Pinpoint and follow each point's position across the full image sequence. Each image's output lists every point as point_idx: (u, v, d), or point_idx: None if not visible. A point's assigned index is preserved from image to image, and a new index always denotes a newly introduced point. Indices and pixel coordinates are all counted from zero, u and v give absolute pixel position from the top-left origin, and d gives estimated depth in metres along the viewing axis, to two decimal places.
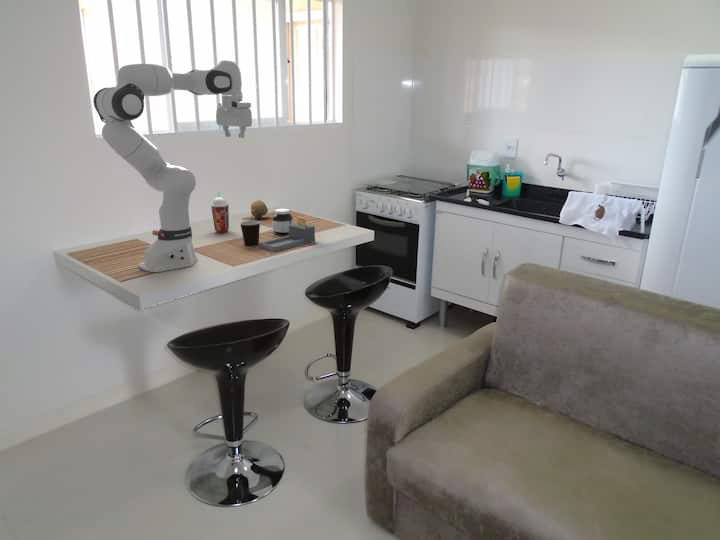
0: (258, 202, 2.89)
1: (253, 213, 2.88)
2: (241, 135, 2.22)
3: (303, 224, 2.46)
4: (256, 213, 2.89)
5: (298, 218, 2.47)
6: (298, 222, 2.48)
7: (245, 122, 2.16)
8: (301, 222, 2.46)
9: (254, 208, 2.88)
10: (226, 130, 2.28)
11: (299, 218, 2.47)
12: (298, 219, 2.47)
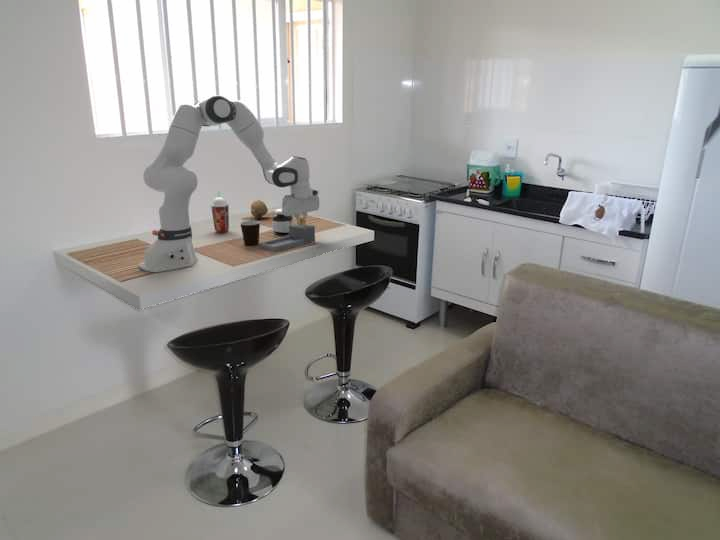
0: (258, 202, 2.89)
1: (253, 213, 2.88)
2: None
3: (303, 224, 2.46)
4: (256, 213, 2.89)
5: None
6: None
7: None
8: None
9: (254, 208, 2.88)
10: None
11: None
12: None
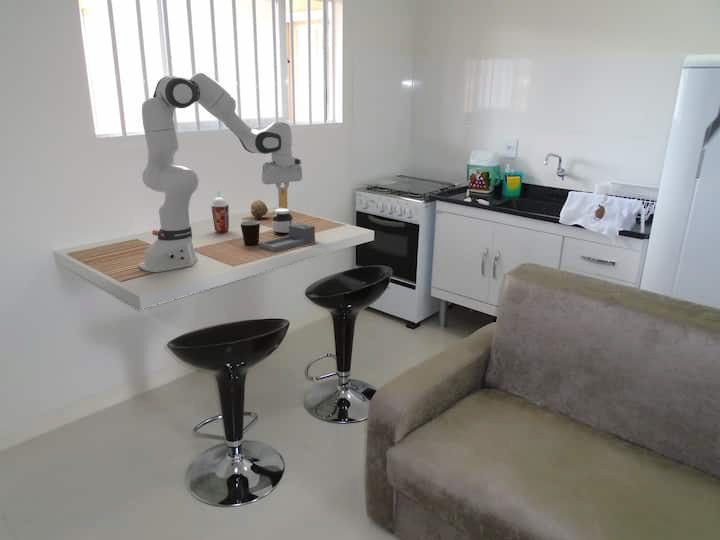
0: (258, 202, 2.89)
1: (253, 213, 2.88)
2: None
3: (284, 194, 2.34)
4: (256, 213, 2.89)
5: None
6: None
7: None
8: None
9: (254, 208, 2.88)
10: None
11: None
12: None
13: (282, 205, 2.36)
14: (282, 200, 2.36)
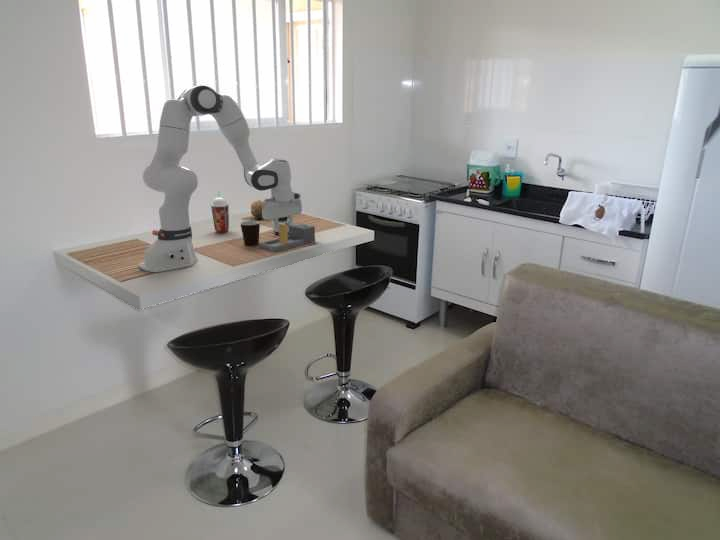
0: (258, 202, 2.89)
1: (253, 213, 2.88)
2: None
3: (285, 231, 2.38)
4: (256, 213, 2.89)
5: (280, 225, 2.40)
6: (280, 229, 2.40)
7: None
8: (282, 229, 2.39)
9: (254, 208, 2.88)
10: None
11: (281, 225, 2.39)
12: (280, 226, 2.40)
13: (283, 241, 2.41)
14: (282, 236, 2.40)
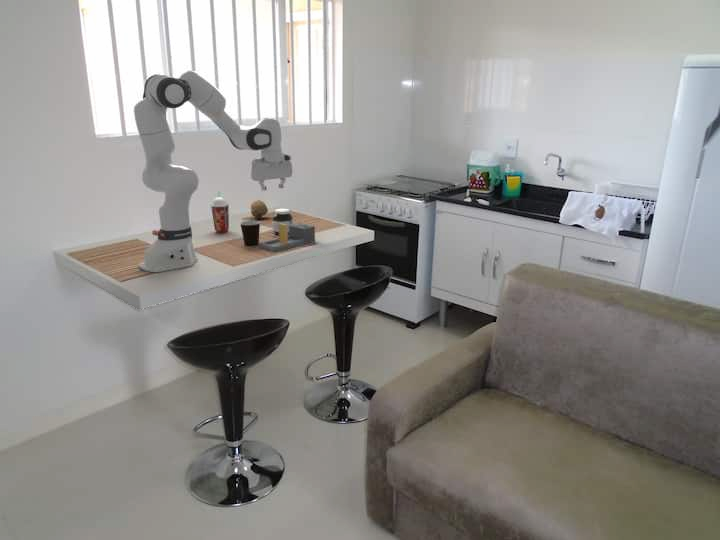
0: (258, 202, 2.89)
1: (253, 213, 2.88)
2: None
3: (285, 231, 2.38)
4: (256, 213, 2.89)
5: (280, 225, 2.40)
6: (280, 229, 2.40)
7: None
8: (282, 229, 2.39)
9: (254, 208, 2.88)
10: None
11: (281, 225, 2.39)
12: (280, 226, 2.40)
13: (283, 241, 2.41)
14: (282, 236, 2.40)
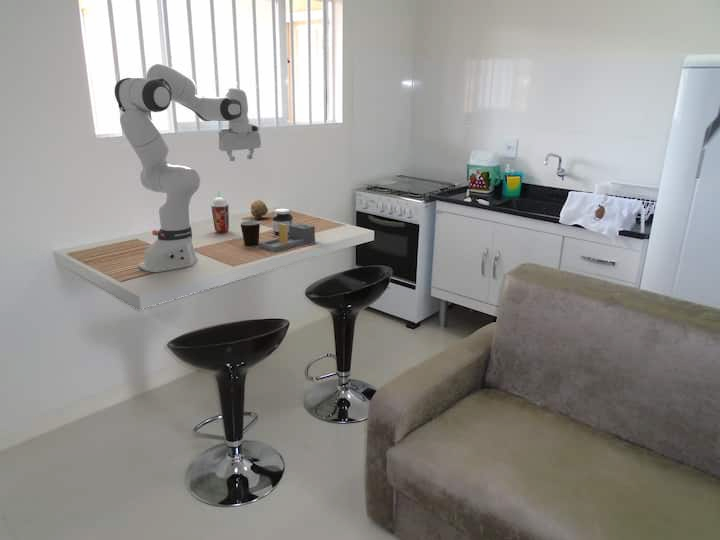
0: (258, 202, 2.89)
1: (253, 213, 2.88)
2: None
3: (285, 231, 2.38)
4: (256, 213, 2.89)
5: (280, 225, 2.40)
6: (280, 229, 2.40)
7: None
8: (282, 229, 2.39)
9: (254, 208, 2.88)
10: None
11: (281, 225, 2.39)
12: (280, 226, 2.40)
13: (283, 241, 2.41)
14: (282, 236, 2.40)
